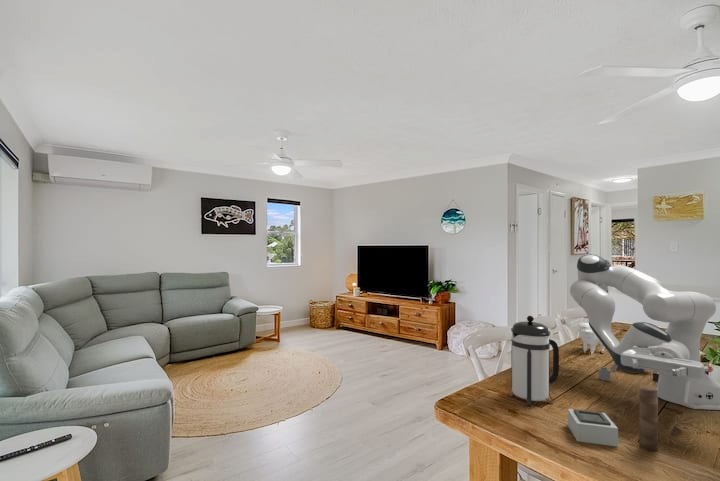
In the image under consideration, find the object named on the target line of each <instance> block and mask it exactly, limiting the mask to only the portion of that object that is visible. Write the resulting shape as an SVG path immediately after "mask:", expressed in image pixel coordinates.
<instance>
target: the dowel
mask: <svg viewBox="0 0 720 481" xmlns="http://www.w3.org/2000/svg"><path fill="white" fill-rule="evenodd" d="M638 390H639V395H638V396H639V400H638V401H639V402H638V404H639V406H638V407H639V408H638V409H639V412H638V413H639V417H638V418H639V447H640V448H641V449H643V450H645V451H649V452H652V453H653V452H658V451H659V400H658V399H659V397H658V390H657V389H656V388H655V387H652V386H648V385H640V386H638Z"/></svg>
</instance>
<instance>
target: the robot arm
mask: <svg viewBox="0 0 720 481" xmlns="http://www.w3.org/2000/svg"><path fill="white" fill-rule="evenodd" d="M576 268H577V280H576V281H575V282H573V283H572V284H571V285H570V288H569V294H570V296H571V297H572V298H573V300H574V301H575V302H576V304H577V305H578V306H580V307H581V308H582V309H583V310H584V312H585V313H586V316H587V318H588V323H589V326H590V327H591V329H592V330H593V332H594V333H595V335H596V336H597V337H598V339H599V340H600V341H601V342H602V344H603V345H604V346H605V349H606V350H607V352H608V353H609V355H610V357H611V358H612V361H613V362H614V364H615V363H616V365H617V366H618V368H619V369H621V370H623V371H625V372H627V373H630V374H631V373H632V374H634V373H641V372H644V371H645V370H646V371H647V370H648V371H652V372H655V373H658V380H657V384H656V388H655V389H657V390H658V399H659V398H660V399H661V400H664V401H667V402H670V403H673V404H677V405H681V406H684V407H687V408H690V409H694V410H709V411H710V410H711V411H713V410H715V411H720V382H718V381H717V380H715V379H714V378H713V377H711V376H710V375H709V374H707V373H712V372H714V367H713V366H711V365H708V364H704V362H701V361H700V357H701V356H700V354H701V353H700V351H701V349H700V348H701V346H700V345H701V340H702V339H701V338H702V335H703V332H704V329H705V328H706V325H707V323H708V321H709V320H710V319H711V318H712V317H713V316H714V315H715V313H716V312H717V311H716V310H717V306H716V303H715V301H714V300H713V298H712V297H711V296H710V295H707V294H705V293H702V292H696V291H692V290H691V291H688V290H687V291H674V290H670V289H667V288H665V287H663V285H662V283H661V281H660V280H659V279H657V278H655V277H652V276H650V275H649V274H646V273H645V272H642V271H640V270H638V269H635V268H632V267H629V266H626V265H622V264H614V265H612V264H611V263H610V261H609V260H608V259H604V258H603V257H602V256H599V255H598V254H591V253H590V254H585V255H583V256H580V257H579V258H578V260H577V263H576ZM608 287H610V288H611V287H612V288H614V289H616V290H618V291H619V292H620V293H622V294H624V295H626V296H627V297H629V298H631V299H632V300H635V301H637V303H640V304H641V305H642V310H643V312H644V314H645V316H647V317H648V318H649V319H650V320H653V321H657V322H662V323H668V325H667V328H666V329H665V330H664V329H662V328H660V327H659V326H657V325H655V324H652V323H650V322H641V321H640V322H637V321H636V322H633V323H632V324H631V325H630V327H629V329H627V331H626V333H625V334H624V336H623V337H622V339H621V340H620V341H619V340H618V339H617V337H616V336H615V335H614V334H613V332H612V324H613V318H614V316H615V312H616V303H615V300H614V298H613V297H612V296H611V295H610V293H609V288H608ZM644 369H645V370H644Z"/></svg>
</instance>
